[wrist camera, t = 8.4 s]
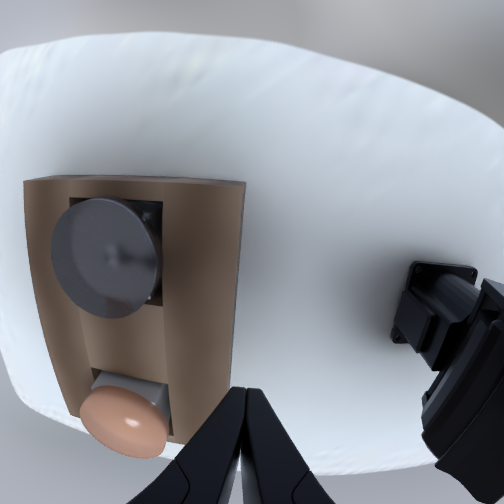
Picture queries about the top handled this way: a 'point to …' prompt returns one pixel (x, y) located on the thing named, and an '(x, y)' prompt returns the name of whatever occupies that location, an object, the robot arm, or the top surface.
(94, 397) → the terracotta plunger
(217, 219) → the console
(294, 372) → the top surface
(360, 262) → the top surface
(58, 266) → the charcoal plunger
